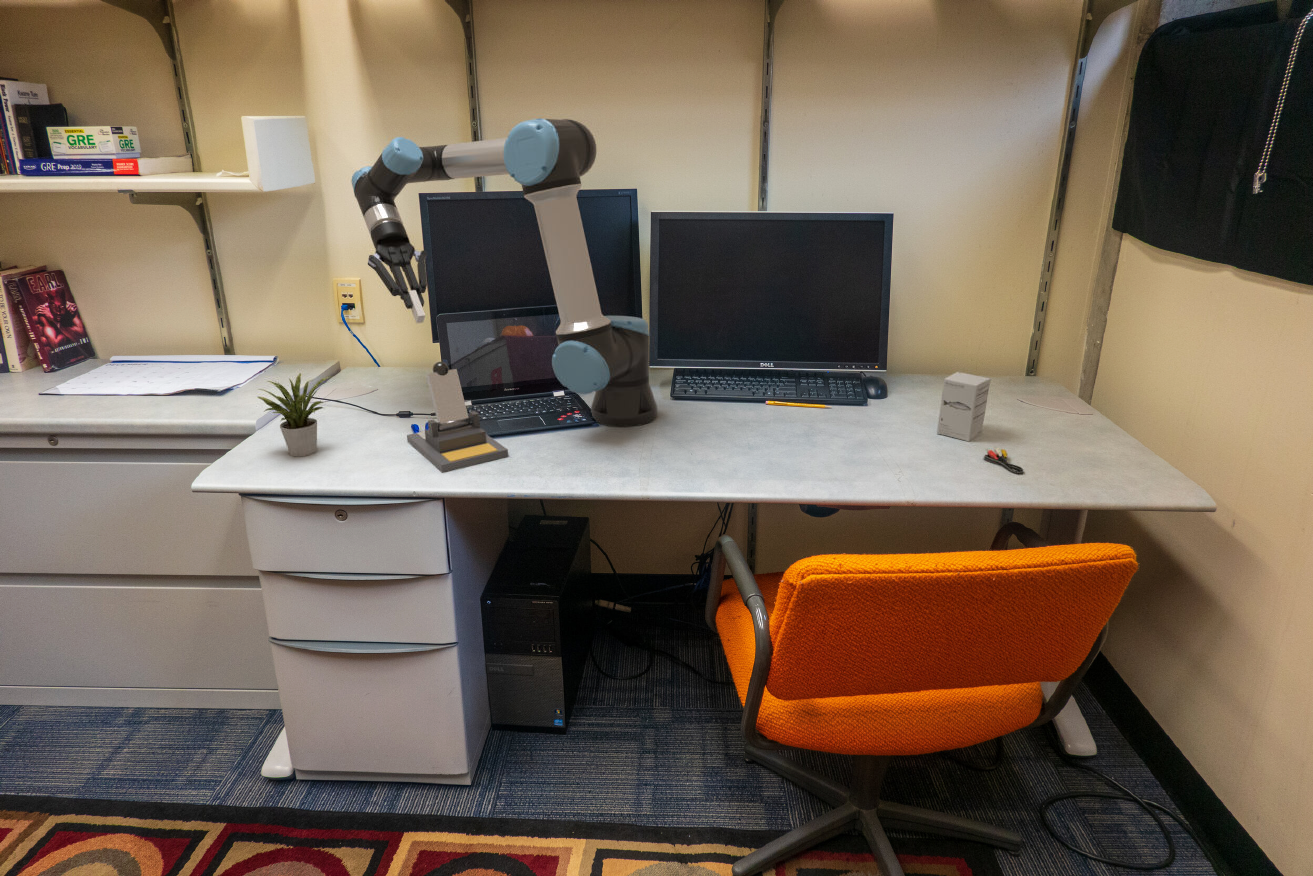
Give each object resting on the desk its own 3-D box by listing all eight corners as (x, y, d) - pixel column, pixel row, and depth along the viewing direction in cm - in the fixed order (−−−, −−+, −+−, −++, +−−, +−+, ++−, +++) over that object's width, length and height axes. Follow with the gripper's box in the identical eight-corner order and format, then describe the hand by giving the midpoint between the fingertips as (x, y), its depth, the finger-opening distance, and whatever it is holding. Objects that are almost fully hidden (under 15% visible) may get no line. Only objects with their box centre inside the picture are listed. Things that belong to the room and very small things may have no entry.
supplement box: (935, 434, 177) (942, 378, 172) (950, 425, 182) (957, 370, 177) (968, 442, 172) (977, 385, 167) (983, 433, 177) (991, 377, 172)
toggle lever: (436, 433, 168) (420, 366, 167) (469, 426, 171) (452, 360, 171) (441, 431, 165) (424, 363, 165) (474, 424, 169) (457, 357, 168)
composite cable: (1026, 475, 157) (1028, 463, 156) (1002, 477, 156) (1004, 465, 155) (1001, 456, 166) (1002, 444, 165) (978, 457, 165) (980, 446, 164)
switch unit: (407, 441, 174) (403, 410, 172) (469, 428, 182) (466, 398, 179) (442, 472, 159) (438, 438, 156) (508, 456, 166) (505, 424, 164)
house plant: (327, 432, 180) (315, 360, 174) (356, 448, 170) (344, 373, 165) (260, 449, 170) (245, 374, 164) (287, 468, 161) (272, 389, 155)
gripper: (413, 239, 187) (446, 324, 180) (355, 243, 180) (387, 333, 174) (418, 217, 181) (453, 305, 174) (358, 221, 174) (392, 313, 168)
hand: (420, 319), depth 174 cm, fingers closed
